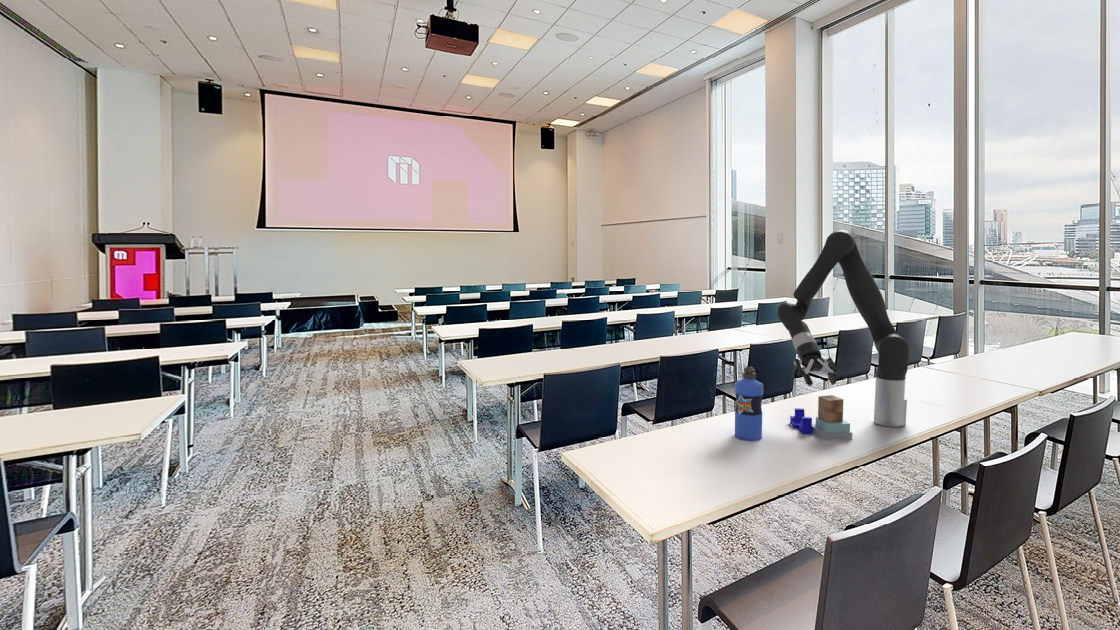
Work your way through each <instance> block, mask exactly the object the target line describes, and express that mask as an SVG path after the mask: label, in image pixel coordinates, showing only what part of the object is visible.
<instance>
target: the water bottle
mask: <svg viewBox="0 0 1120 630" xmlns="http://www.w3.org/2000/svg"><path fill="white" fill-rule="evenodd" d="M755 371H756V370H755V369H754V367H753V366H749V365H748V366H745V367H744V369H743V372H742V379H740V380H737V381H735V382H734V393H735V402H736V404H735V409H734V438H735V439H738V440H741V441H743V442H744V441H746V442H758V441H760V440H762V439H763V409H762V403H763V402H762V401H763V395H764V383H762V382H760V381H758V380H756V378H757V377H756V376H757V373H756V372H755Z"/></svg>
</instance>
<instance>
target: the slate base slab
mask: <svg viewBox="0 0 1120 630" xmlns="http://www.w3.org/2000/svg"><path fill="white" fill-rule="evenodd" d="M812 434H814V435H815V436H816V437H817V438H819V439H820V440H822V441H838V440H839V441H841V440H853V432H852V431H850V432H831V433H826V432H825V431H823V430H822V429H820V428H819V427H818V426H816V423H812Z"/></svg>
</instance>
